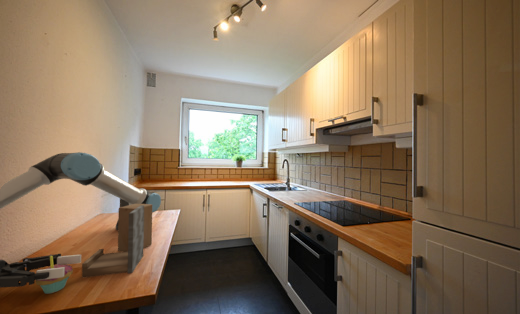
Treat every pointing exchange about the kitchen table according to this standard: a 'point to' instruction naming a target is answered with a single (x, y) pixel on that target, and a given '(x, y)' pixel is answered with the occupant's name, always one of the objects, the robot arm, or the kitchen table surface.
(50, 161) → the robot arm
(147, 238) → the wooden block
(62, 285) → the cupcake
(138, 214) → the wooden bookend
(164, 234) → the kitchen table surface
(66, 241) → the kitchen table surface
